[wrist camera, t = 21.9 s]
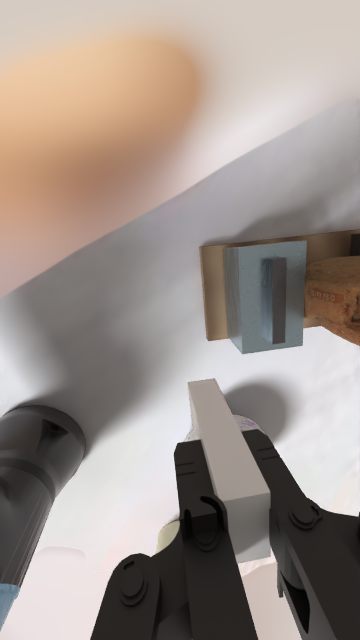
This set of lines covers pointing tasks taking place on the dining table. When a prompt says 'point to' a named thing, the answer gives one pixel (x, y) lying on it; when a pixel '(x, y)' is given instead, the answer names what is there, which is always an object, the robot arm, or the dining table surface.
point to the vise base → (213, 255)
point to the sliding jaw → (265, 295)
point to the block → (334, 295)
